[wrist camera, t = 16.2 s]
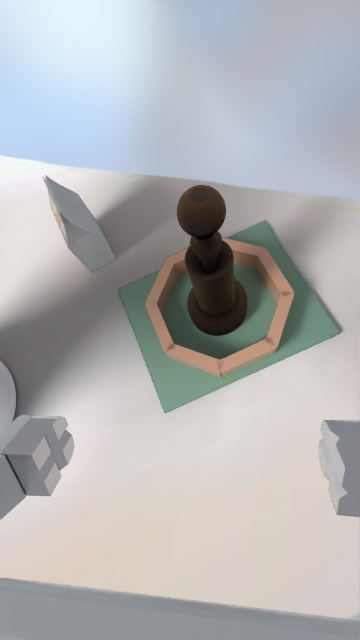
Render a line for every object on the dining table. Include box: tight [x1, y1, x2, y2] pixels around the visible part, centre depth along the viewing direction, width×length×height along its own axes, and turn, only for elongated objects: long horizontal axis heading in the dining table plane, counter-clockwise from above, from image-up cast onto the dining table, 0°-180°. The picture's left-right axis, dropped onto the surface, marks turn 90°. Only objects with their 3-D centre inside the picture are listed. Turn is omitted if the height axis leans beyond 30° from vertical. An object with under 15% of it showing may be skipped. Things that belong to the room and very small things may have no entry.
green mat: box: [118, 221, 340, 413], centre depth 34 cm, size 20×16×1 cm
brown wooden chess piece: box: [177, 185, 247, 336], centre depth 25 cm, size 7×6×18 cm
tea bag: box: [43, 175, 116, 272], centre depth 36 cm, size 4×7×10 cm, turn 27°
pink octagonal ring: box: [145, 238, 295, 377], centre depth 32 cm, size 14×14×3 cm
